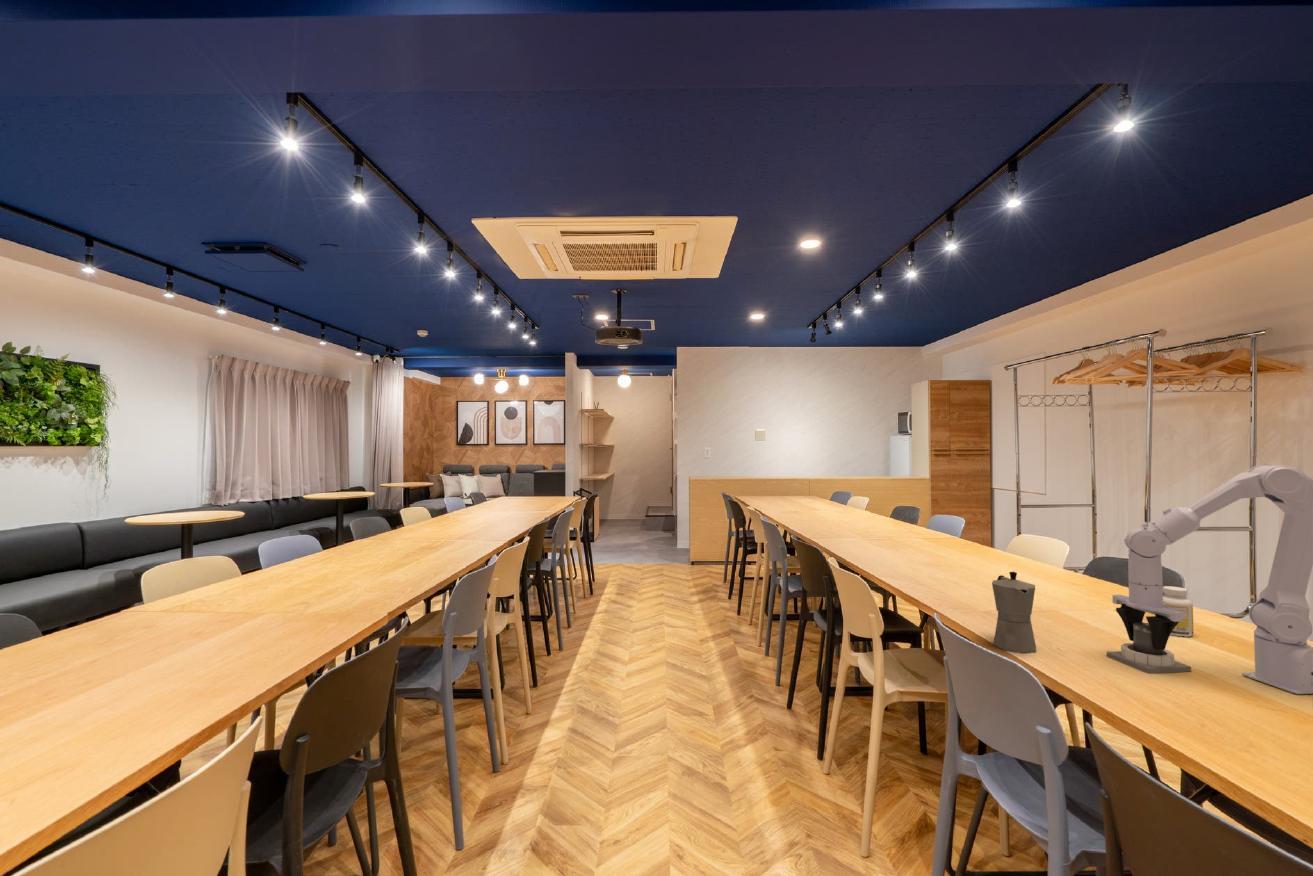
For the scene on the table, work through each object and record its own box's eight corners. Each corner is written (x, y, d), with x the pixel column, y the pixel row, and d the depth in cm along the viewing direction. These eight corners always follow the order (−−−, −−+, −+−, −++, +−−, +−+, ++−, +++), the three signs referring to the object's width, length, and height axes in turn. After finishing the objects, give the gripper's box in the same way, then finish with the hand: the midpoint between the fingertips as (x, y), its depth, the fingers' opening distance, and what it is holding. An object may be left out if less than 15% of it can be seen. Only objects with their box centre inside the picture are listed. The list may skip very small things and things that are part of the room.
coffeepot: (1049, 658, 127) (1048, 578, 128) (1004, 655, 129) (1002, 576, 130) (1020, 636, 143) (1018, 565, 143) (979, 633, 144) (978, 563, 145)
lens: (1169, 656, 122) (1169, 628, 122) (1149, 656, 121) (1150, 628, 121) (1146, 648, 127) (1146, 621, 127) (1127, 648, 126) (1127, 621, 126)
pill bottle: (1179, 629, 147) (1178, 585, 147) (1200, 638, 141) (1199, 591, 141) (1152, 629, 148) (1151, 585, 148) (1172, 637, 141) (1171, 591, 142)
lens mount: (1191, 671, 119) (1191, 657, 119) (1148, 673, 118) (1148, 659, 118) (1146, 654, 129) (1146, 641, 129) (1106, 656, 128) (1106, 643, 128)
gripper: (1100, 576, 131) (1101, 634, 131) (1161, 591, 117) (1162, 657, 116) (1127, 575, 132) (1129, 633, 131) (1191, 590, 117) (1193, 656, 117)
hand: (1146, 644), depth 124 cm, fingers closed on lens, 5 cm apart
